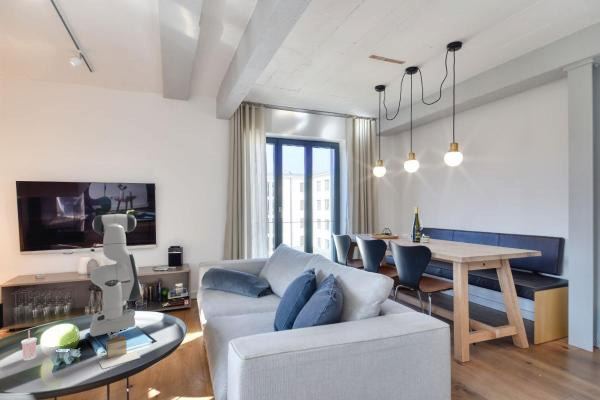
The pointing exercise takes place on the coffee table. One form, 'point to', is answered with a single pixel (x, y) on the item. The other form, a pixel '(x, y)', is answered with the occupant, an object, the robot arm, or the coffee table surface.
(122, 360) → the pad
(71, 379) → the coffee table surface
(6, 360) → the coffee table surface
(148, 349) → the coffee table surface
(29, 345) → the beverage cup
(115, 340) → the block
